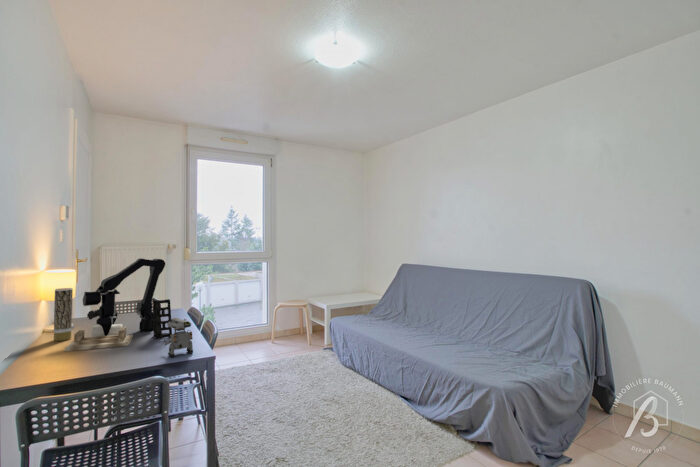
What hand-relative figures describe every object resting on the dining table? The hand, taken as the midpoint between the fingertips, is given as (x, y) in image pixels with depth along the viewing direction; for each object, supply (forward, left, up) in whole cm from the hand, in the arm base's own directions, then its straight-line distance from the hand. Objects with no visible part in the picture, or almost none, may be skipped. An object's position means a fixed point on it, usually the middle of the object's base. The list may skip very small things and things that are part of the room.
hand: (107, 334), depth 181 cm
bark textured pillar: (+19, -2, -2) cm, 19 cm away
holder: (-25, +11, -2) cm, 27 cm away
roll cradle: (0, +14, -1) cm, 14 cm away
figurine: (-34, +43, -2) cm, 55 cm away
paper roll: (0, 0, -1) cm, 1 cm away
